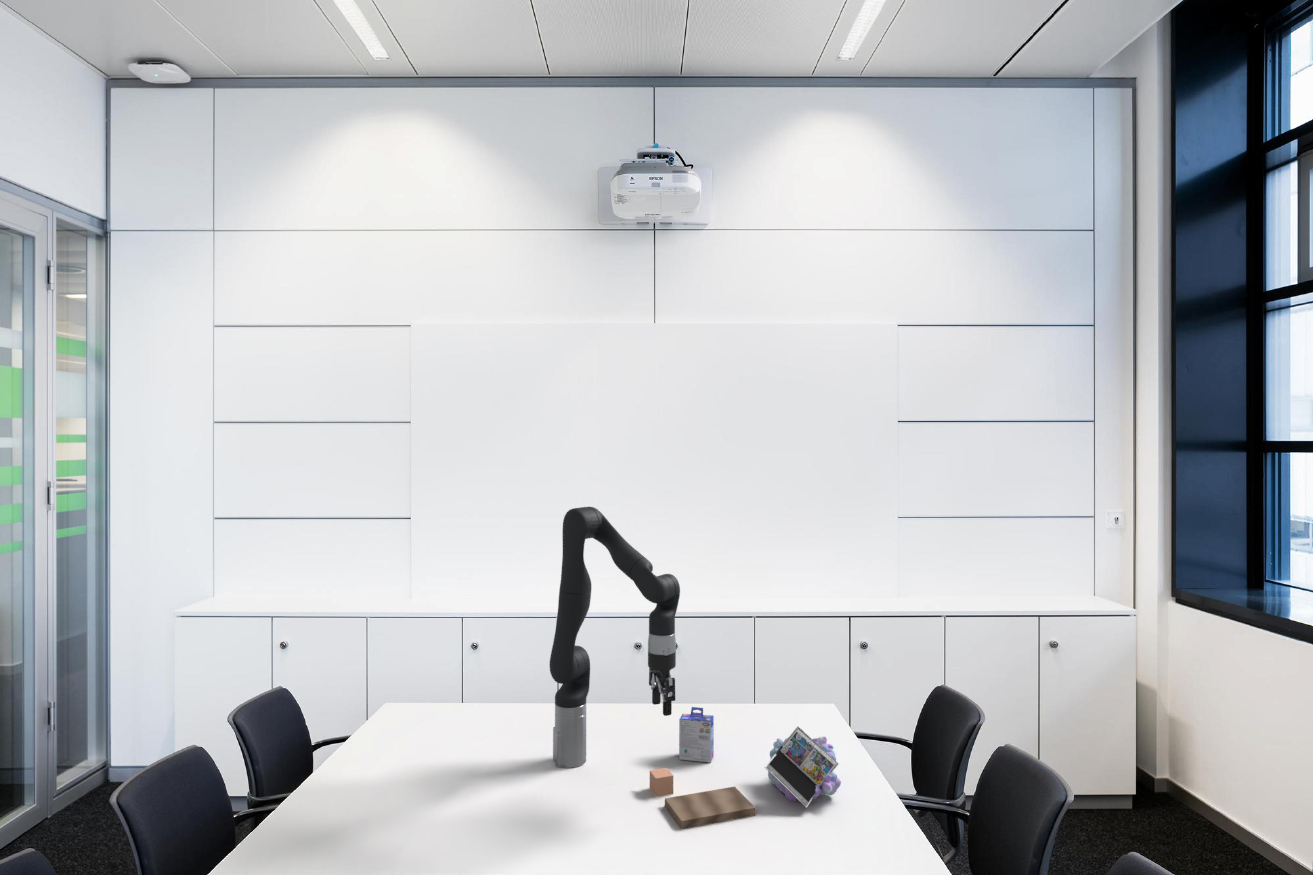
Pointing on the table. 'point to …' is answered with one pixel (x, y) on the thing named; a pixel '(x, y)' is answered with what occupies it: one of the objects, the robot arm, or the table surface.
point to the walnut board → (709, 807)
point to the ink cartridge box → (696, 736)
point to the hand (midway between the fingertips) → (661, 709)
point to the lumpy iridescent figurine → (803, 767)
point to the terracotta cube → (661, 782)
